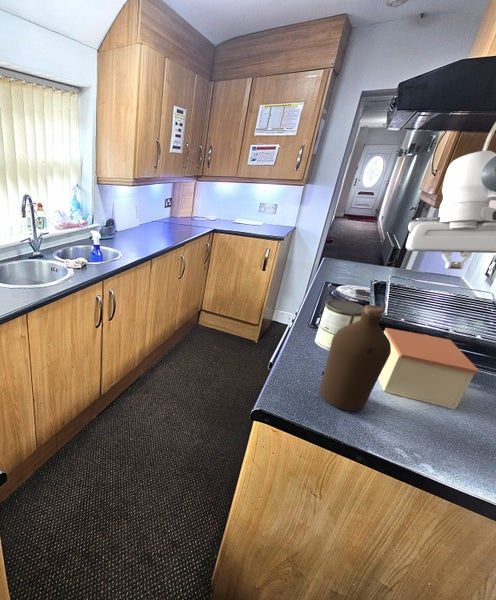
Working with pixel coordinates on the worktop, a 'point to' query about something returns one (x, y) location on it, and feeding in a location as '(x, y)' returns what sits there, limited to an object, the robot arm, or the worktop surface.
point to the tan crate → (423, 380)
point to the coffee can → (336, 319)
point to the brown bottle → (355, 361)
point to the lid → (429, 350)
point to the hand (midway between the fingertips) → (453, 268)
